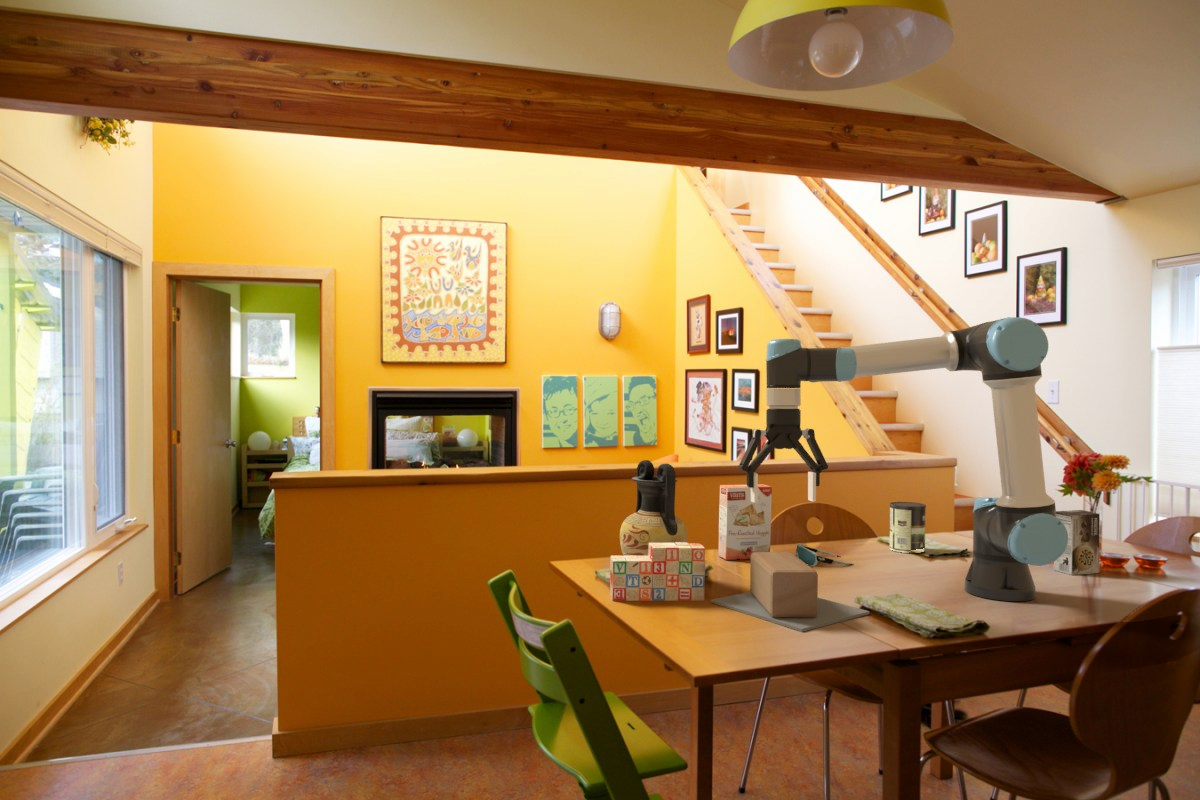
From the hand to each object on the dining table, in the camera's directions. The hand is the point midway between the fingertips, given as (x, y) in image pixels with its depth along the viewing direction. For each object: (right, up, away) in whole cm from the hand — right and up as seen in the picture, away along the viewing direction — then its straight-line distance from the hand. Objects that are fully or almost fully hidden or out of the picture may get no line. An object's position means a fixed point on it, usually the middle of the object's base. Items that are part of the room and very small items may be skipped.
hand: (783, 501), depth 177 cm
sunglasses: (+21, -23, +44) cm, 54 cm away
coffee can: (+51, -23, +60) cm, 82 cm away
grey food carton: (+87, -23, +34) cm, 96 cm away
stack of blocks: (-28, -23, +5) cm, 37 cm away
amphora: (-28, -23, +20) cm, 41 cm away
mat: (0, -23, -4) cm, 23 cm away
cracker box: (0, -23, +48) cm, 53 cm away
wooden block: (-2, -17, +6) cm, 18 cm away
